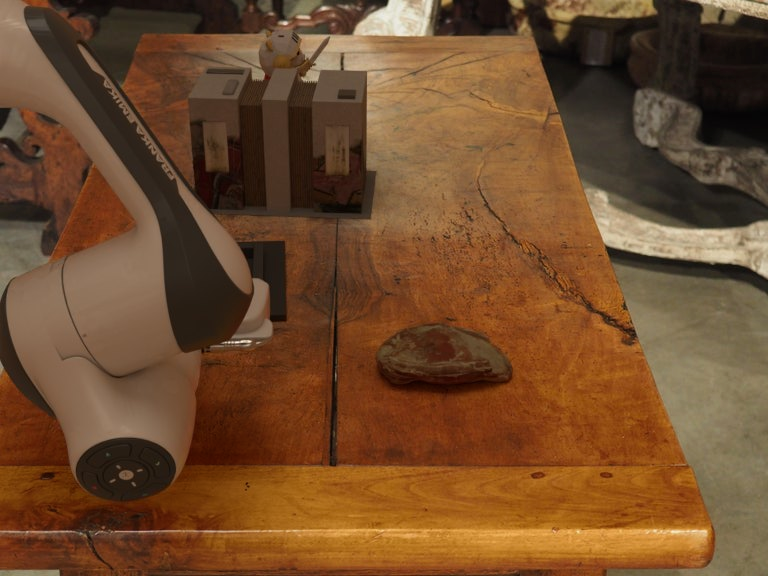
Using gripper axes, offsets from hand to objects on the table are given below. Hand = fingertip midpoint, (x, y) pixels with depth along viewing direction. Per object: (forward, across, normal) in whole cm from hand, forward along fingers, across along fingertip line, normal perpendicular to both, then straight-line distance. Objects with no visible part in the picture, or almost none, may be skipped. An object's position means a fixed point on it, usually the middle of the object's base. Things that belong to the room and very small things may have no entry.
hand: (163, 270), depth 101 cm
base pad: (+21, -4, +14) cm, 26 cm away
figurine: (+73, -12, +14) cm, 75 cm away
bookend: (+47, -12, +14) cm, 50 cm away
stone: (+2, -28, +14) cm, 31 cm away
